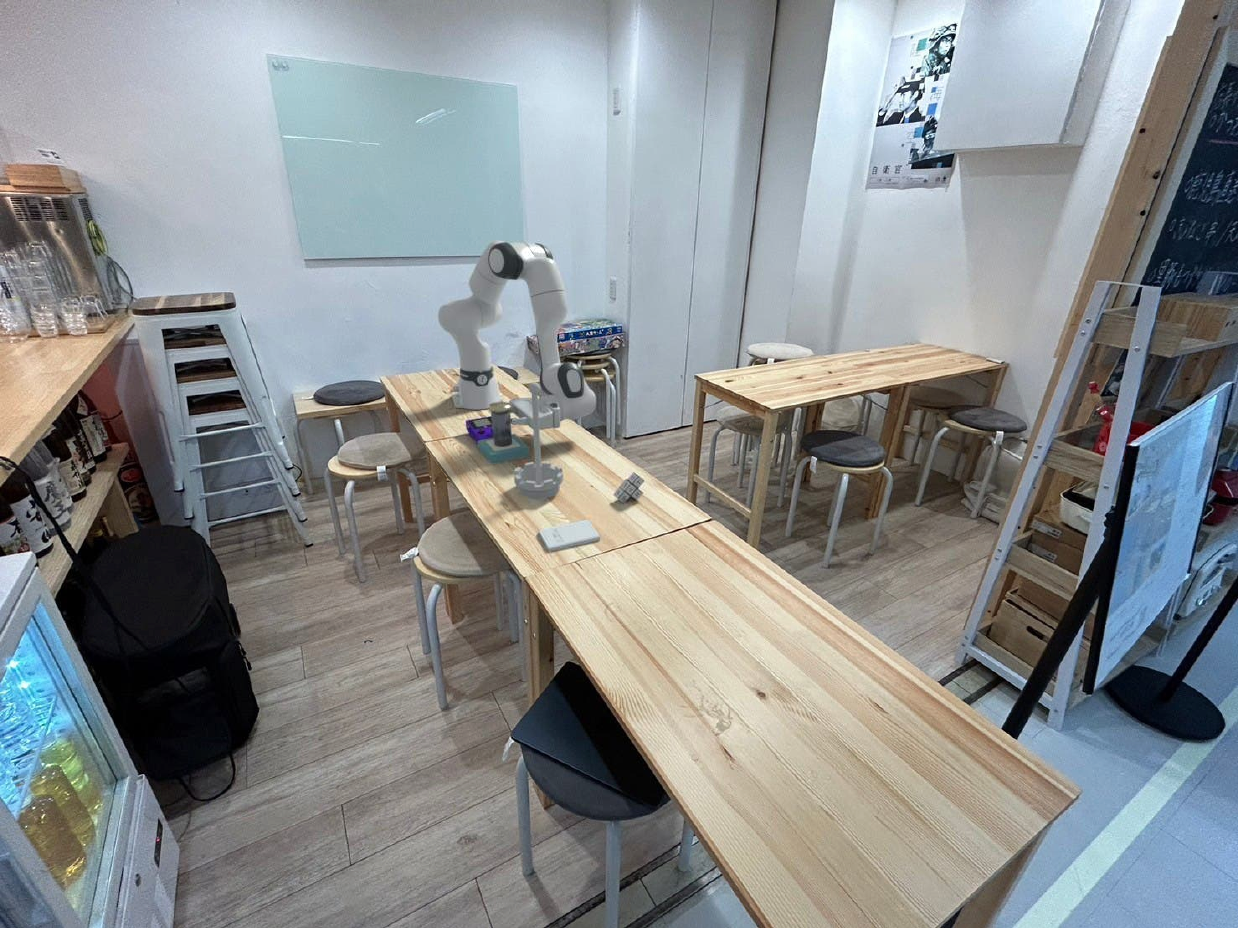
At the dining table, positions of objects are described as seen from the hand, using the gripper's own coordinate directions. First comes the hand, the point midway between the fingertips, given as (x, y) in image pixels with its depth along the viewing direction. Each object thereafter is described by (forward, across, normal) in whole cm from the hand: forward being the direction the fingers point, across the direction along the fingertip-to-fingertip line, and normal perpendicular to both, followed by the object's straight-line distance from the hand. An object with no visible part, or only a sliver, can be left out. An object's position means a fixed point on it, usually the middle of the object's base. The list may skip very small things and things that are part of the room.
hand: (505, 417), depth 165 cm
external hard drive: (+5, +52, +12) cm, 53 cm away
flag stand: (+1, +27, +12) cm, 29 cm away
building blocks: (-18, +42, +12) cm, 47 cm away
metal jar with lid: (+1, 0, +8) cm, 8 cm away
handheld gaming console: (+2, -14, +12) cm, 18 cm away
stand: (+1, 0, +12) cm, 12 cm away
